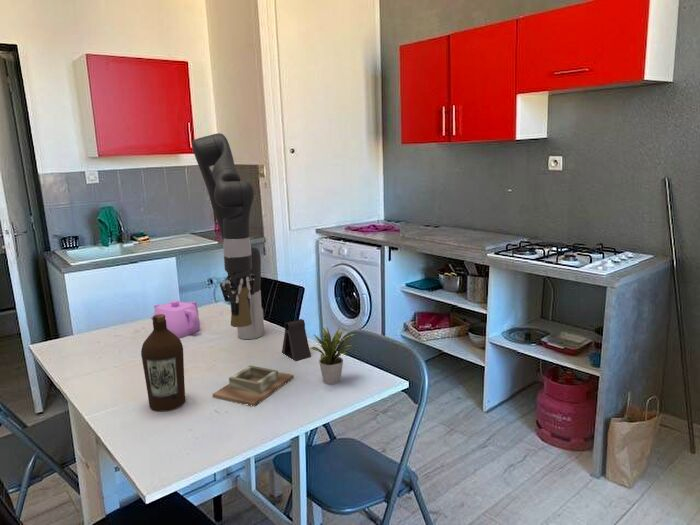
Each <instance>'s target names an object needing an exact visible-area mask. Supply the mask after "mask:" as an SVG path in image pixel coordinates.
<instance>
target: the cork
mask: <svg viewBox="0 0 700 525" xmlns="http://www.w3.org/2000/svg"><path fill="white" fill-rule="evenodd" d="M231 290H232V291H235V292H236V291H237V290H234V289H231ZM248 295H249V290H248V288H247V287H242V288H241V292H240V294H239V295H238V297H239V302H238V303H239V315H238V316H235V315H232V313H231V312H230V313H231V314H230V315H231V316H230V326H231V327H234V328H237V327H245V326H249V325H251V324H252V320H251V315H250V309H249V304H248V299H247V297H248ZM233 297H234V298H235V294H233Z"/></svg>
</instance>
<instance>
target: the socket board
mask: <svg viewBox="0 0 700 525" xmlns="http://www.w3.org/2000/svg"><path fill="white" fill-rule="evenodd" d="M294 376H295V375H294V374H292V373H291V374H290V373H287V372H286V373H284V372H280V371H279V370H276V369H272V368H271V369H270V368H267V367H260V366H255V365H249V366H247V367H245V368H243V369H242V370H240V371H239V372H237V373H235V374H233V375H232V376H230V377H229V378H228V384H226V385H225V386H222V387H221V388H220V389H219V390H217V391H215V392H214V393H212V398H213V399H218V400H222V399H223V401H227V400H228V402H231V401H232V403H235V402H237V403H236V404H240V403H241V404H240V405H244V404H248V405H252V406H251V407H253V406H254V405H256V404H257V403H258V404H260V403H261V402H262V400H263V399H264V400H265V399H267V398H268V397H269V395H270V394H271V393H272V394H274V393H275V392H276V391H277V389H278V388H279V389H281V388H282V387H283V386H285V385H286V384H288V383H289V382H290V381H292V380H293V379H294ZM292 378H293V379H292ZM291 379H292V380H291ZM288 381H289V382H288ZM285 383H286V384H285ZM284 384H285V385H284ZM281 386H282V387H281ZM280 387H281V388H280ZM279 389H278V390H279ZM275 390H276V391H275ZM274 391H275V392H274ZM273 392H274V393H273ZM272 394H271V395H272ZM271 395H270V396H271ZM267 396H268V397H267ZM266 397H267V398H266ZM264 400H263V401H264ZM260 401H261V402H260ZM259 402H260V403H259ZM258 404H257V405H258ZM248 405H247V406H248ZM257 405H256V406H257ZM254 407H255V406H254Z"/></svg>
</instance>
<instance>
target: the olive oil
mask: <svg viewBox="0 0 700 525" xmlns="http://www.w3.org/2000/svg"><path fill="white" fill-rule="evenodd" d="M152 316H153V320H152V329H153V330H152V332H151V333H150V334H149V335H148V336H147V337H146V339H145V340H144V341H143V343H142V347H141V350H140V356H141V361H142V362H141V363H142V366H143V372H144V379H145V385H146V391H147V392H146V393H147V398H148V406H149V408H150V409H151V410H153V411H156V412H166V411H172V410H175V409H178V408H180V407H182V406H183V405H184V404H185V402H186V388H185V387H186V386H185V365H184V346H183V343H182V341H181V338H178V337H177V336H176V335H175V334H173V333H172V332H171V331H169V330H168V329H167V325H166V319H165V315H164V314H158V315H154V314H153V315H152Z"/></svg>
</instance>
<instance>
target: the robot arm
mask: <svg viewBox="0 0 700 525" xmlns="http://www.w3.org/2000/svg"><path fill="white" fill-rule="evenodd" d="M192 151H193V155H194V158H195V160H196V163H197V165H198V168H199V171H200V173H201V176H202V178H203V180H204V184H205V186H206V189H207V193H208V196H209V200H210V203H211V204H210V205H211V207H212V210H213V214H214V216H215V219H216V222H217V225H218V229H219V232H220V235H221V238H222V245H223V246H222V247H223V264H224V271H225V272H226V273H227V277H226V280H225V281H224V282H220V283H219V287H220V290H221V293H222V295H223V299H224V302H226V303H230V310H231V311H230V313H232V315H235V316H238V315H239V303H238V302H239V297H238V295H239V294H240V292H241V288H242V287H247V288H248V290H249V295H248V297H247V299H248V304H249V309H250V315H251V320H252V324H251V325H249V326H245V327H236V328H237V338H239V339H241V340H253V339H254V340H255V339H259V338H261V337H262V336H263V335H264V333H265V324H264V321H265V320H264V308H263V307H262V294H261V293H262V291H261V284H262V268H261V267H262V258H261V253H260V250H259V249H258V248H257V247H254V246H252V245H251V238H250V216H251V211H252V210H251V209H252V205H253V202H254V197H255V196H254V195H255V191H254V187H253V186H252V184H251V183H250V182H249V181H246V180H241V176H240V174H239V173H238V171H237V168H236V166H235V161H234V157H233V153H232V152H233V151H232V149H231V146H230V143H229V141H228V138H227V137H226V136H225V135H224V134H223V133H213V134H210V135H206V136H202V137H198V138H196V139H195V138H194V140H192ZM210 167H212V169H211V168H210ZM231 289H234V290H237V291H236V292H235V291H232V290H231ZM233 294H235V298H234V297H233Z"/></svg>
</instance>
